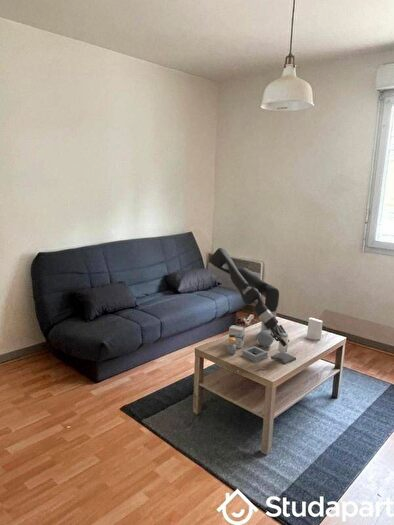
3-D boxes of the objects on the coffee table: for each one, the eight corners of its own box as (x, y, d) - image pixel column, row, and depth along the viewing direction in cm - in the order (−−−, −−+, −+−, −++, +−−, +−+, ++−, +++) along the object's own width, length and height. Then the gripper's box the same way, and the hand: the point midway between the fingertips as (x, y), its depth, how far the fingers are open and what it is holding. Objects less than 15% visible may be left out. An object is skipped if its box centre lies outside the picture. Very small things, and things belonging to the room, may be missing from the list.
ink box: (227, 345, 238) (228, 327, 236) (231, 342, 242) (232, 324, 240) (240, 348, 234) (242, 330, 232) (243, 345, 238) (245, 327, 236)
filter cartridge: (281, 348, 225) (283, 331, 223) (289, 351, 221) (290, 334, 219) (276, 350, 221) (277, 333, 219) (283, 353, 218) (285, 336, 216)
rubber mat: (281, 353, 229) (281, 351, 229) (295, 359, 222) (296, 357, 222) (270, 357, 223) (271, 356, 223) (285, 364, 216) (285, 362, 215)
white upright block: (304, 336, 256) (305, 319, 254) (311, 333, 262) (313, 316, 260) (316, 340, 250) (318, 323, 247) (323, 337, 256) (325, 320, 253)
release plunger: (231, 340, 229) (232, 336, 228) (236, 343, 226) (237, 339, 225) (227, 342, 226) (227, 338, 226) (232, 344, 223) (232, 340, 223)
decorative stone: (272, 350, 233) (273, 334, 231) (255, 348, 235) (256, 332, 233) (273, 343, 243) (274, 328, 241) (257, 341, 245) (258, 326, 243)
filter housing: (243, 346, 238) (244, 338, 237) (267, 356, 224) (268, 348, 223) (225, 352, 228) (225, 344, 227) (249, 364, 214) (249, 355, 213)
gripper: (267, 319, 231) (285, 343, 227) (258, 326, 218) (277, 351, 215) (277, 312, 227) (295, 336, 224) (268, 319, 215) (287, 345, 211)
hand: (286, 343), depth 219 cm, fingers closed on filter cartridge, 5 cm apart
